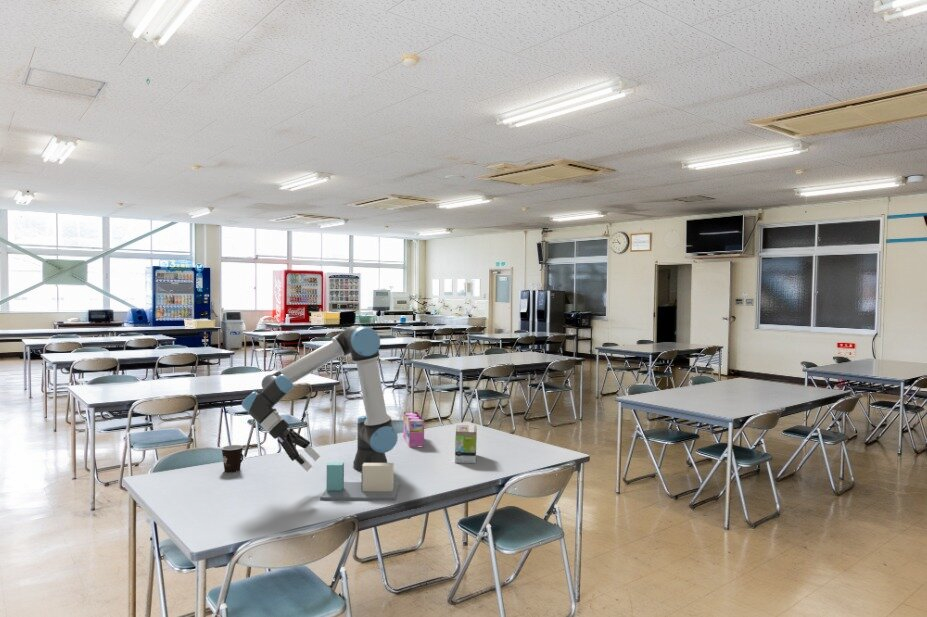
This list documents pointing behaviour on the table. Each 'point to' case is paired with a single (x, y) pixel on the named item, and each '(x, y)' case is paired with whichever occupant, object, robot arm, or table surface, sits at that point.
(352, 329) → the robot arm
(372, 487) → the ticket stand
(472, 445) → the tea box
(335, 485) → the stub
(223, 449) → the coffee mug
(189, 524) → the table surface
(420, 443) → the pink drink carton pack
